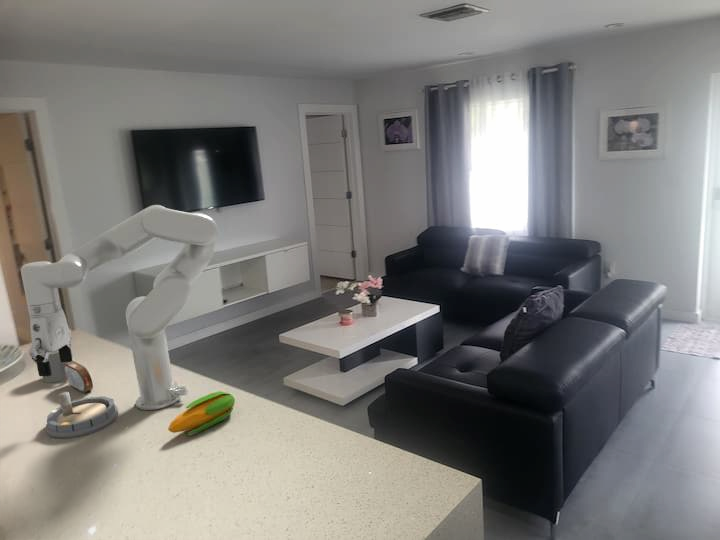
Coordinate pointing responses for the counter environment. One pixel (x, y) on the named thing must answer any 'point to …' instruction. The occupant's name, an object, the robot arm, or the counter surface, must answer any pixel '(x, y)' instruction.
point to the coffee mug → (56, 368)
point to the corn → (204, 413)
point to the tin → (78, 376)
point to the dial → (77, 410)
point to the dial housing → (83, 426)
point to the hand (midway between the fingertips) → (56, 368)
